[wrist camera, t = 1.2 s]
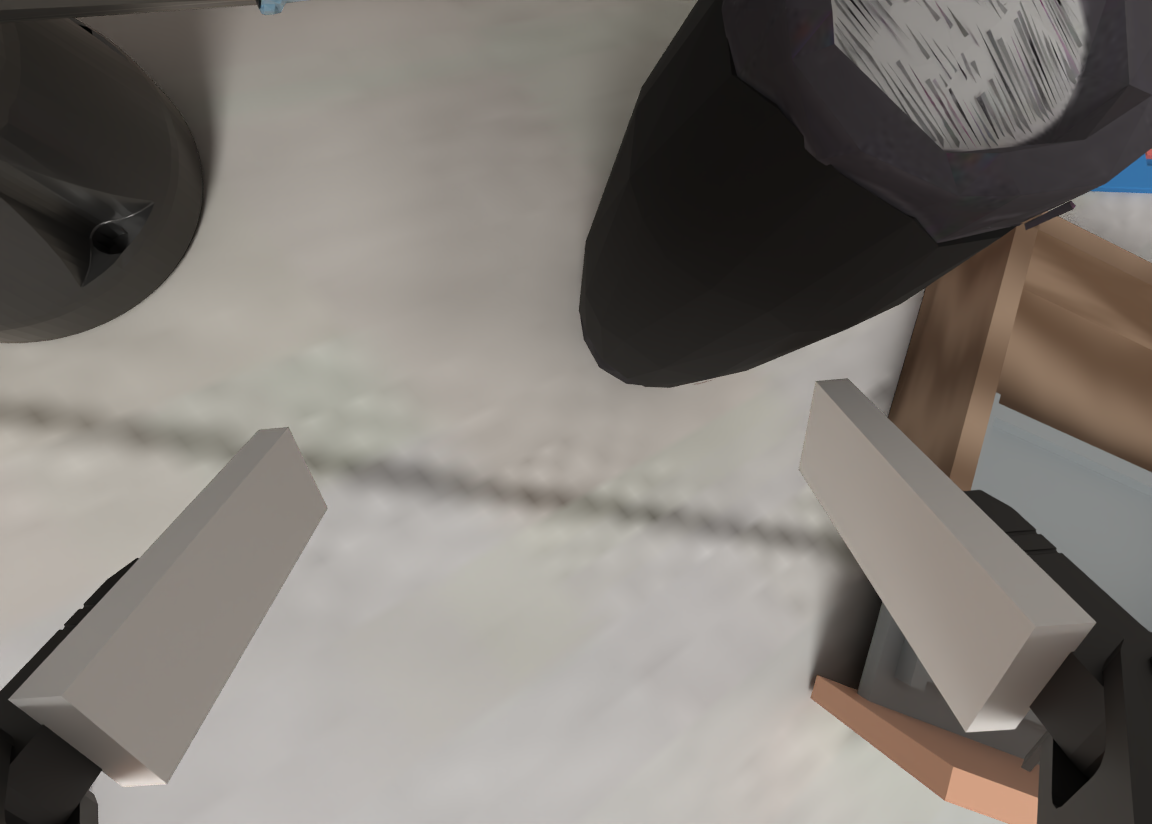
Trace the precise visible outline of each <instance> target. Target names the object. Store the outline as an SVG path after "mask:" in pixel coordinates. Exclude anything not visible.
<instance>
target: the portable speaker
mask: <svg viewBox="0 0 1152 824" xmlns="http://www.w3.org/2000/svg"><path fill="white" fill-rule="evenodd" d="M1151 148H1152V0H698V1H697V3H696V4H695V6H694V8H693V9H692V11H691V12H690V14H689V15H688V17H687V18H686V20H685V21H684V23H683V24H682V26H681V28H680V29H679V31H678V32H677V34H676V35H675V37H674V38H673V40H672V41H671V43H670V45H669V46H668V48H667V49H666V51H665V52H664V54H663V55H662V57H661V58H660V60H659V61H658V63H657V65H656V66H655V68H654V69H653V71H652V72H651V74H650V75H649V77H648V78H647V80H646V82H645V83H644V85H643V86H642V88H641V91H640V94H639V97H638V99H637V102H636V105H635V108H634V110H633V113H632V116H631V119H630V121H629V124H628V127H627V130H626V132H625V135H624V138H623V141H622V143H621V146H620V149H619V152H618V154H617V157H616V160H615V163H614V165H613V168H612V171H611V174H610V176H609V179H608V182H607V185H606V187H605V190H604V193H603V196H602V198H601V201H600V204H599V207H598V209H597V212H596V215H595V218H594V220H593V223H592V226H591V229H590V231H589V234H588V237H587V240H586V245H585V254H584V264H583V275H582V285H581V295H580V305H579V312H580V317H581V324H582V330H583V337H584V341H585V342H586V344H587V346H588V348H589V349H590V351H591V353H592V355H593V357H594V358H595V360H596V362H597V364H598V366H599V367H600V368H601V369H603V370H605V371H606V372H608V373H610V374H611V375H613V376H615V377H616V378H618V379H620V380H621V381H623V382H625V383H626V384H635V385H642V386H645V387H667V388H670V387H675V386H679V385H684V384H689V383H693V382H698V381H702V380H707V379H711V378H716V377H720V376H725V375H729V374H734V373H738V372H742V371H747V370H749V369H751V368H754V367H756V366H759V365H761V364H764V363H766V362H768V361H771V360H773V359H776V358H778V357H780V356H783V355H785V354H788V353H790V352H793V351H795V350H797V349H800V348H802V347H805V346H807V345H810V344H812V343H814V342H817V341H819V340H822V339H824V338H826V337H829V336H831V335H834V334H836V333H839V332H841V331H843V330H846V329H848V328H850V327H853V326H855V325H857V324H859V323H861V322H863V321H865V320H867V319H869V318H872V317H874V316H876V315H878V314H880V313H882V312H884V311H886V310H889V309H891V308H893V307H895V306H897V305H899V304H901V303H903V302H904V301H906V300H907V299H909V298H910V297H912V296H913V295H915V294H916V293H918V292H919V291H921V290H922V289H924V288H925V287H927V286H928V285H930V284H931V283H933V282H935V281H936V280H938V279H939V278H941V277H942V276H944V275H945V274H947V273H948V272H950V271H951V270H953V269H954V268H956V267H957V266H959V265H960V264H962V263H963V262H965V261H966V260H968V259H969V258H971V257H972V256H974V255H975V254H977V253H978V252H980V251H981V250H983V249H984V248H986V247H987V246H989V245H991V244H992V243H994V242H995V241H997V240H998V239H1000V238H1001V237H1003V236H1004V235H1005V234H1007V233H1008V232H1009V231H1011V230H1012V229H1014V228H1015V227H1016V226H1020V225H1021V224H1023V223H1022V222H1024V221H1027V220H1029V219H1031V218H1033V217H1035V216H1037V215H1039V214H1042V213H1044V212H1046V211H1048V210H1050V209H1052V208H1055V207H1057V206H1059V205H1061V204H1063V203H1065V202H1067V201H1069V202H1067V203H1065V204H1063V205H1061V206H1059V207H1057V208H1055V209H1053V210H1051V211H1049V212H1047V213H1045V214H1043V215H1041V216H1039V217H1037V218H1035V219H1033V220H1031V221H1029V222H1027V223H1025V224H1024V225H1025V229H1026V230H1028V229H1030V228H1032V227H1035V226H1037V225H1039V224H1041V223H1043V222H1046V221H1048V220H1050V219H1052V218H1055V217H1057V216H1059V215H1061V214H1063V213H1066V212H1068V211H1070V210H1072V209H1074V207H1075V205H1074V203H1073V202H1072V201H1070V200H1072V199H1074V198H1076V197H1078V196H1080V195H1082V194H1085V193H1087V192H1089V191H1091V190H1093V189H1095V188H1098V187H1100V186H1102V185H1104V184H1106V183H1107V182H1109V181H1110V180H1111V179H1113V178H1114V177H1115V176H1116V175H1118V174H1119V173H1120V172H1122V171H1123V170H1124V169H1126V168H1127V167H1128V166H1129V165H1131V164H1132V163H1133V162H1135V161H1136V160H1137V159H1138V158H1140V157H1141V156H1142V155H1144V154H1145V153H1146V152H1148V151H1149V150H1150V149H1151ZM714 380H715V379H714ZM710 381H711V380H710ZM706 382H707V381H706ZM702 383H704V382H702ZM698 384H700V383H698ZM694 385H695V384H694Z"/></svg>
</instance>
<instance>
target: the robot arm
mask: <svg viewBox="0 0 1152 824" xmlns="http://www.w3.org/2000/svg"><path fill="white" fill-rule="evenodd" d="M299 1H307V0H0V343H28V342H39V341H46V340H53V339H58V338H63V337H67V336H70V335H74V334H78V333H81V332H84V331H87V330H90V329H92V328H95V327H97V326H100V325H102V324H104V323H106V322H108V321H110V320H112V319H114V318H116V317H118V316H120V315H122V314H123V313H125V312H127V311H128V310H130V309H131V308H133V307H134V306H136V305H137V304H139V303H140V302H141V301H142V300H144V299H145V298H146V297H148V296H149V295H150V294H151V293H152V292H153V291H154V290H155V289H156V288H158V287H159V286H160V284H161V283H162V282H163V281H164V280H165V279H166V278H167V277H168V276H169V274H170V273H171V272H172V271H173V270H174V268H175V267H176V265H177V264H178V263H179V261H180V260H181V258H182V256H183V255H184V253H185V251H186V250H187V248H188V246H189V243H190V241H191V239H192V237H193V234H194V232H195V229H196V226H197V223H198V219H199V215H200V210H201V204H202V195H203V180H202V169H201V163H200V158H199V154H198V151H197V147H196V144H195V141H194V139H193V137H192V134H191V132H190V130H189V128H188V126H187V124H186V122H185V121H184V119H183V117H182V116H181V114H180V113H179V111H178V110H177V109H176V107H175V106H174V105H173V103H172V102H171V101H170V100H169V99H168V97H167V96H166V95H165V94H164V93H163V92H162V91H161V90H160V89H159V87H158V86H157V85H156V84H155V83H154V82H153V81H152V80H151V79H150V78H149V77H148V76H147V74H146V73H145V72H144V71H143V70H142V69H141V68H140V67H139V66H138V65H137V64H136V63H135V62H134V61H133V60H132V59H131V58H130V57H129V56H128V55H127V54H126V53H124V52H123V51H122V50H121V49H120V48H119V47H117V46H116V45H115V44H114V43H113V42H111V41H110V40H109V39H107V38H106V37H104V36H103V35H102V34H100V33H99V32H97V31H96V30H94V29H92V28H91V27H89V26H87V25H85V24H84V23H82V22H80V21H78V20H77V19H75V17H90V16H104V15H118V14H133V13H147V12H161V11H176V10H190V9H204V8H219V7H233V6H247V5H258V7H259V9H260V11H261V13H262V14H264V15H272V14H277V13H280V12H281V11H282V9H283V7H284V5H285V4H286V3H291V2H299ZM799 471H800V472H801V474H802V476H803V477H804V479H805V480H806V482H807V483H808V485H809V487H810V488H811V490H812V491H813V493H814V494H815V496H816V498H817V499H818V501H819V502H820V504H821V505H822V507H823V509H824V510H825V512H826V513H827V515H828V516H829V518H830V520H831V521H832V523H833V524H834V526H835V527H836V529H837V531H838V532H839V534H840V535H841V537H842V539H843V540H844V542H845V543H846V545H847V546H848V548H849V550H850V551H851V553H852V554H853V556H854V557H855V559H856V561H857V562H858V564H859V565H860V567H861V568H862V570H863V572H864V573H865V575H866V576H867V578H868V579H869V581H870V583H871V584H872V586H873V587H874V589H875V590H876V592H877V594H878V595H879V597H880V598H881V600H882V601H883V603H884V605H885V606H886V608H887V609H888V611H889V612H890V614H891V616H892V617H893V619H894V620H895V622H896V623H897V625H898V627H899V628H900V630H901V631H902V633H903V635H904V636H905V638H906V639H907V641H908V642H909V644H910V646H911V647H912V649H913V650H914V652H915V653H916V655H917V657H918V658H919V660H920V661H921V663H922V664H923V666H924V668H925V669H926V671H927V672H928V674H929V675H930V677H931V679H932V680H933V682H934V683H935V685H936V686H937V688H938V690H939V691H940V693H941V694H942V696H943V697H944V699H945V701H946V702H947V704H948V705H949V707H950V708H951V710H952V712H953V713H954V715H955V716H956V718H957V719H958V721H959V723H960V724H961V726H962V727H963V729H964V731H965V732H980V731H996V730H1011V729H1015V728H1016V727H1017V726H1018V725H1019V723H1020V722H1021V721H1022V719H1023V718H1024V717H1025V715H1026V714H1027V713H1028V711H1029V710H1030V709H1031V710H1032V711H1033V712H1034V714H1035V715H1036V716H1037V718H1038V719H1039V720H1040V722H1041V723H1042V724H1043V725H1044V727H1045V728H1046V729H1047V731H1046V732H1045V734H1044V735H1043V736H1042V737H1041V738H1040V740H1039V741H1038V742H1037V743H1036V744H1035V746H1034V747H1033V748H1032V749H1031V750H1030V751H1029V753H1028V754H1027V755H1026V756H1025V759H1024V761H1023V764H1022V766H1021V768H1023V769H1025V770H1027V771H1029V772H1031V771H1032V769H1033V768H1034V767H1035V766H1036V765H1037V764H1038V763H1039V761H1040V766H1039V788H1038V809H1037V824H1152V632H1150V631H1148V630H1147V629H1146V628H1145V627H1143V626H1142V625H1141V624H1140V623H1139V622H1138V621H1137V620H1135V619H1134V618H1133V617H1132V616H1131V615H1130V614H1129V613H1128V612H1127V611H1126V610H1124V609H1123V608H1122V607H1121V606H1120V605H1119V604H1118V603H1117V602H1116V601H1115V600H1113V599H1112V598H1111V597H1110V596H1109V595H1108V594H1107V593H1106V592H1105V591H1104V590H1102V589H1101V588H1100V587H1099V586H1098V585H1097V584H1096V583H1095V582H1094V581H1093V580H1091V579H1090V578H1089V577H1088V576H1087V575H1086V574H1085V573H1084V572H1083V571H1082V570H1080V569H1079V568H1078V567H1077V566H1076V565H1075V564H1074V563H1073V562H1072V561H1070V560H1069V559H1068V558H1067V557H1066V556H1065V555H1064V554H1063V553H1058V552H1057V550H1056V549H1057V548H1056V547H1055V546H1054V545H1053V544H1052V543H1051V542H1050V541H1048V540H1047V539H1046V538H1045V537H1044V536H1043V535H1042V534H1037V532H1036V529H1035V528H1034V527H1033V526H1032V525H1031V524H1030V523H1029V522H1028V521H1026V520H1025V519H1024V518H1023V517H1022V516H1021V515H1020V514H1019V513H1018V512H1017V511H1015V510H1014V509H1013V508H1012V507H1010V506H1009V505H1007V504H1005V503H1003V502H1001V501H1000V500H998V499H996V498H994V497H993V496H991V495H989V494H987V493H986V492H984V491H982V490H971V491H962V490H961V489H960V488H959V487H958V486H957V485H956V484H955V483H954V482H953V481H952V480H951V479H950V478H949V477H948V476H947V475H946V474H945V473H944V472H943V471H941V470H940V469H939V468H938V467H937V466H936V465H935V464H934V463H933V462H932V461H931V460H930V459H929V458H928V457H927V456H926V455H925V454H924V453H923V452H922V451H921V450H920V449H919V448H918V447H917V446H916V445H915V444H914V443H913V442H912V441H911V440H910V439H909V438H908V437H907V436H906V435H905V434H904V433H903V432H902V431H901V430H900V429H899V428H898V427H897V426H896V425H895V424H894V423H893V422H891V421H890V420H889V419H888V418H887V417H886V416H885V415H884V414H883V413H882V412H881V411H880V410H879V409H878V408H877V407H876V406H875V405H874V404H873V403H872V402H871V401H870V400H869V399H868V398H867V397H866V396H865V395H864V394H863V393H862V392H861V391H860V390H859V389H858V388H857V387H856V386H855V385H854V384H853V383H852V382H851V381H850V380H849V379H836V380H825V381H816V383H815V388H814V393H813V398H812V403H811V409H810V414H809V419H808V424H807V429H806V435H805V440H804V445H803V450H802V455H801V461H800V466H799ZM326 510H327V506H326V504H325V502H324V500H323V498H322V495H321V493H320V491H319V489H318V487H317V485H316V483H315V481H314V479H313V477H312V475H311V473H310V471H309V469H308V466H307V464H306V462H305V460H304V458H303V456H302V454H301V452H300V450H299V448H298V446H297V444H296V442H295V440H294V437H293V435H292V433H291V431H290V429H289V427H286V428H274V429H263V430H258V431H257V432H256V433H255V435H254V436H253V437H252V438H251V439H250V440H249V441H248V442H247V443H246V444H245V445H244V446H243V447H242V449H241V450H240V451H239V452H238V453H237V454H236V455H235V456H234V457H233V458H232V459H231V460H230V461H229V462H228V464H227V465H226V466H225V467H224V468H223V469H222V470H221V471H220V472H219V473H218V474H217V475H216V476H215V478H214V479H213V480H212V481H211V482H210V483H209V484H208V485H207V486H206V487H205V488H204V489H203V490H202V492H201V493H200V494H199V495H198V496H197V497H196V498H195V499H194V500H193V501H192V502H191V503H190V504H189V506H188V507H187V508H186V509H185V510H184V511H183V512H182V513H181V514H180V515H179V516H178V517H177V518H176V519H175V521H174V522H173V523H172V524H171V525H170V526H169V527H168V528H167V529H166V530H165V531H164V532H163V533H162V535H161V536H160V537H159V538H158V539H157V540H156V541H155V542H154V543H153V544H152V545H151V546H150V547H149V549H148V550H147V551H146V552H145V553H144V554H143V555H142V556H141V557H140V558H136V559H135V560H134V561H132V562H131V563H129V564H128V565H127V566H125V567H124V568H123V569H121V570H120V571H118V572H117V573H116V574H114V575H113V576H112V577H110V578H109V579H107V580H106V581H105V582H104V583H103V584H102V585H101V586H100V588H99V589H98V590H97V591H96V592H95V593H94V594H93V595H92V596H91V597H90V598H89V599H88V600H87V601H86V602H85V603H84V608H83V609H79V610H78V611H77V612H76V613H75V614H74V615H73V616H72V617H71V618H70V619H69V620H68V621H67V622H66V623H65V624H64V626H65V627H64V629H63V630H58V631H57V633H56V634H55V635H54V636H53V637H52V638H51V639H50V640H49V641H48V642H47V643H46V644H45V645H44V646H43V647H42V648H41V649H40V650H39V651H38V652H37V653H36V654H35V656H34V657H33V658H32V659H31V660H30V661H29V662H28V663H27V664H26V665H25V666H24V667H23V668H22V669H21V670H20V671H19V672H18V673H17V674H16V675H15V676H14V677H13V679H12V680H11V681H10V682H9V683H8V684H7V685H6V686H5V687H4V688H3V689H2V690H1V691H0V824H98V804H97V801H96V798H95V795H94V794H93V793H91V792H90V791H89V788H90V787H91V785H92V784H93V782H94V781H95V779H96V778H97V776H98V775H99V774H100V772H101V771H103V772H104V773H105V774H106V775H108V776H109V777H110V778H112V779H113V780H114V781H116V782H117V783H118V784H120V785H121V786H122V787H130V786H145V785H161V784H167V783H168V782H169V780H170V778H171V776H172V775H173V773H174V771H175V770H176V768H177V766H178V764H179V763H180V761H181V759H182V758H183V756H184V754H185V752H186V751H187V749H188V747H189V746H190V744H191V742H192V740H193V739H194V737H195V735H196V734H197V732H198V730H199V728H200V727H201V725H202V723H203V721H204V720H205V718H206V716H207V715H208V713H209V711H210V709H211V708H212V706H213V704H214V703H215V701H216V699H217V697H218V696H219V694H220V692H221V691H222V689H223V687H224V685H225V684H226V682H227V680H228V679H229V677H230V675H231V673H232V672H233V670H234V668H235V666H236V665H237V663H238V661H239V660H240V658H241V656H242V654H243V653H244V651H245V649H246V648H247V646H248V644H249V642H250V641H251V639H252V637H253V636H254V634H255V632H256V630H257V629H258V627H259V625H260V624H261V622H262V620H263V618H264V617H265V615H266V613H267V612H268V610H269V608H270V606H271V605H272V603H273V601H274V599H275V598H276V596H277V594H278V593H279V591H280V589H281V587H282V586H283V584H284V582H285V581H286V579H287V577H288V575H289V574H290V572H291V570H292V569H293V567H294V565H295V563H296V562H297V560H298V558H299V557H300V555H301V553H302V551H303V550H304V548H305V546H306V544H307V543H308V541H309V539H310V538H311V536H312V534H313V532H314V531H315V529H316V527H317V526H318V524H319V522H320V520H321V519H322V517H323V515H324V514H325V512H326Z"/></svg>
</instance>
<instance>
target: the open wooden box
mask: <svg viewBox="0 0 1152 824" xmlns="http://www.w3.org/2000/svg"><path fill="white" fill-rule="evenodd" d="M1047 212H1048V211H1046V212H1044V213H1042V214H1039V215H1037V216H1035V217H1033V218H1031V219H1029V220H1027V221H1024V222H1022V223H1023V224H1021V225H1020V226H1016V227H1015V228H1014V229H1012V230H1011V231H1009V232H1008V233H1007V234H1005V235H1004V236H1003V237H1001V238H1000V239H998V240H997V241H995V242H994V243H992V244H991V245H989V246H987V247H986V248H984V249H983V250H981V251H980V252H978V253H977V254H975V255H974V256H972V257H971V258H969V259H968V260H966V261H965V262H963V263H962V264H960V265H959V266H957V267H956V268H954V269H953V270H951V271H950V272H948V273H947V274H945V275H944V276H942V277H941V278H939V279H938V280H936V281H935V282H933V283H931V284H930V285H928V286H927V287H926V289H925V293H924V296H923V300H922V303H921V307H920V310H919V313H918V317H917V320H916V324H915V327H914V331H913V334H912V337H911V341H910V344H909V348H908V351H907V355H906V358H905V361H904V365H903V368H902V372H901V375H900V379H899V382H898V385H897V389H896V392H895V396H894V399H893V403H892V406H891V409H890V413H889V416H888V419H889V420H890V421H891V422H893V423H894V424H895V425H896V426H897V427H898V428H899V429H900V430H901V431H902V432H903V433H904V434H905V435H906V436H907V437H908V438H909V439H910V440H911V441H912V442H913V443H914V444H915V445H916V446H917V447H918V448H919V449H920V450H921V451H922V452H923V453H924V454H925V455H926V456H927V457H928V458H929V459H930V460H931V461H932V462H933V463H934V464H935V465H936V466H937V467H938V468H939V469H940V470H941V471H943V472H944V473H945V474H946V475H947V476H948V477H949V478H950V479H951V480H952V481H953V482H954V483H955V484H956V485H957V486H958V487H959V488H960V489H961V490H962V491H971V487H972V483H973V480H974V476H975V472H976V468H977V464H978V460H979V456H980V452H981V449H982V445H983V441H984V437H985V433H986V429H987V425H988V422H989V418H990V414H991V410H992V406H993V402H994V398H995V394H996V393H999V394H1001V396H1000V400H999V404H1001V405H1004V406H1006V407H1008V408H1010V409H1012V410H1015V411H1017V412H1019V413H1021V414H1024V415H1026V416H1028V417H1030V418H1032V419H1035V420H1037V421H1039V422H1041V423H1043V424H1046V425H1048V426H1050V427H1052V428H1055V429H1057V430H1059V431H1061V432H1063V433H1066V434H1068V435H1070V436H1072V437H1074V438H1077V439H1079V440H1081V441H1083V442H1086V443H1088V444H1090V445H1092V446H1094V447H1097V448H1099V449H1101V450H1103V451H1105V452H1108V453H1110V454H1112V455H1114V456H1117V457H1119V458H1121V459H1123V460H1125V461H1128V462H1130V463H1132V464H1134V465H1136V466H1139V467H1141V468H1143V469H1145V470H1148V471H1150V472H1152V263H1150V262H1148V261H1146V260H1144V259H1142V258H1140V257H1138V256H1136V255H1134V254H1132V253H1130V252H1128V251H1126V250H1124V249H1122V248H1120V247H1118V246H1116V245H1114V244H1112V243H1110V242H1108V241H1106V240H1104V239H1102V238H1100V237H1098V236H1096V235H1094V234H1092V233H1090V232H1088V231H1086V230H1084V229H1082V228H1080V227H1078V226H1076V225H1074V224H1072V223H1070V222H1068V221H1066V220H1064V219H1062V218H1060V217H1058V216H1057V217H1055V218H1052V219H1050V220H1048V221H1046V222H1043V223H1041V224H1039V225H1037V226H1035V227H1032V228H1030V229H1028V230H1026V229H1025V225H1024V224H1025V223H1027V222H1029V221H1031V220H1033V219H1035V218H1037V217H1039V216H1041V215H1043V214H1045V213H1047Z"/></svg>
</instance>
